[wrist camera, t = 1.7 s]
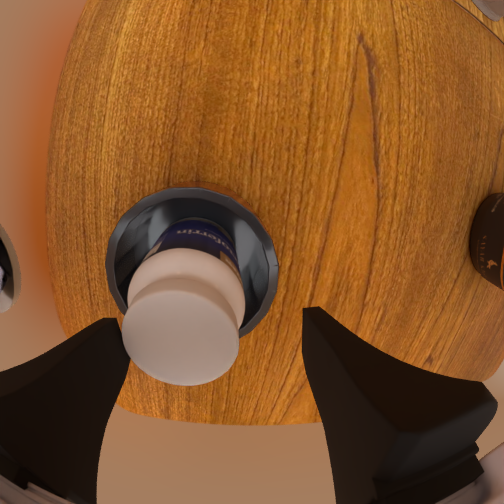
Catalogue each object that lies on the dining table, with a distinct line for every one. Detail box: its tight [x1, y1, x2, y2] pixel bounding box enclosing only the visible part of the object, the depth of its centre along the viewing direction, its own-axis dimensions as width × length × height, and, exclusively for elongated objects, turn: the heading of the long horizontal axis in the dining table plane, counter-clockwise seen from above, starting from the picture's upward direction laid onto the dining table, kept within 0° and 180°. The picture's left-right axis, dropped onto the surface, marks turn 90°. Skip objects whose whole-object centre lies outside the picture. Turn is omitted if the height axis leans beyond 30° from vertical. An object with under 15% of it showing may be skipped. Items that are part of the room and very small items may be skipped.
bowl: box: [105, 181, 279, 339], centre depth 17 cm, size 10×10×4 cm
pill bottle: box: [122, 217, 245, 386], centre depth 14 cm, size 6×6×10 cm
